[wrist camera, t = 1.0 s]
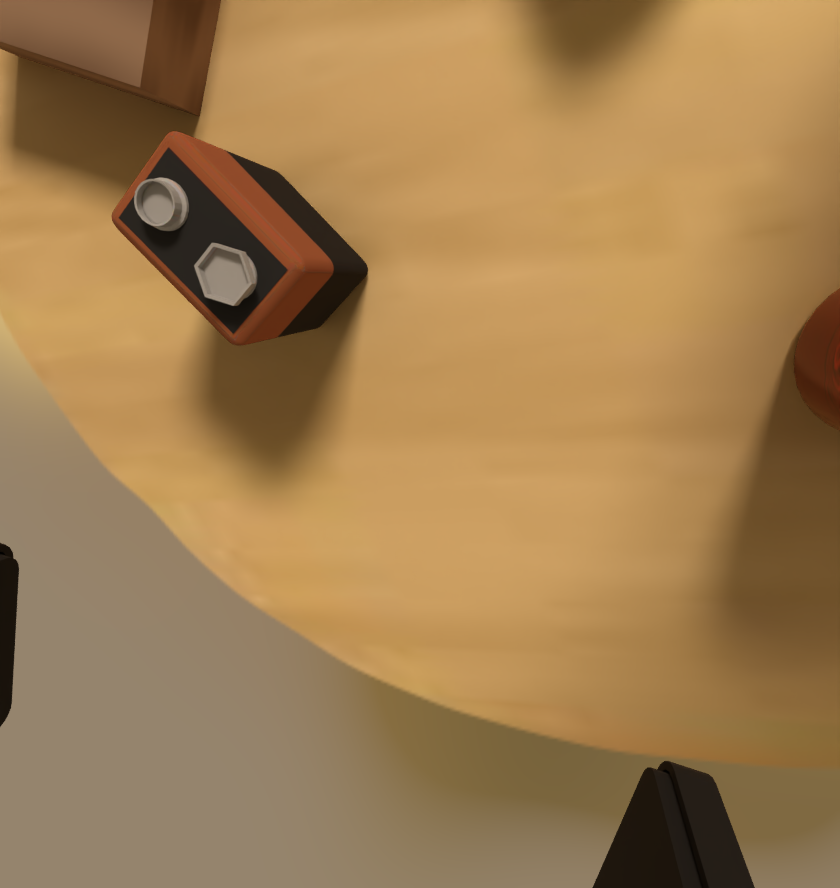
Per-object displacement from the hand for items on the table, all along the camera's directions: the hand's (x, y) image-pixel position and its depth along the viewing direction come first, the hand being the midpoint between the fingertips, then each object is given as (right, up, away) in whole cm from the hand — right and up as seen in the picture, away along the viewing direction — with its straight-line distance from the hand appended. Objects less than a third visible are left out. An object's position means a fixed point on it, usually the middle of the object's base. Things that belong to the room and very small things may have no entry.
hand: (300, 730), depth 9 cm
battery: (-4, +14, +22) cm, 26 cm away
